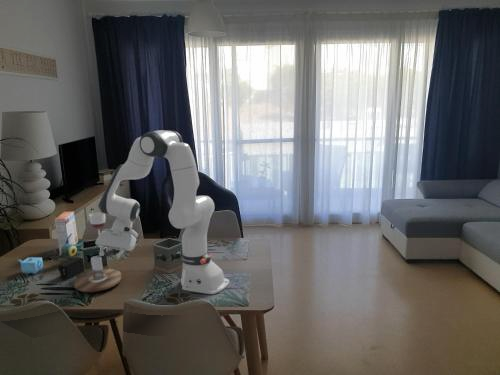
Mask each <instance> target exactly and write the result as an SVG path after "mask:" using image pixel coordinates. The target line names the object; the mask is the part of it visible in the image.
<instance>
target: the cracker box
mask: <svg viewBox="0 0 500 375" xmlns="http://www.w3.org/2000/svg"><path fill="white" fill-rule="evenodd" d="M75 218H76V216H75V211H63V212H62V213H61V214H60V215H59V216H57V217H56V218H54V225H55V230H56V232H55V233H56V239H57V244H58V245H57V246H58V251H59V254H60V253H61V249H62V247H63V246H64V245H65V244H66V240H67V238H68V237H69V235H70V234H72V235H71V236H70V237H69V239H68V242H69V244H72V245H75V244H76V243H77V242H78V241H79V239H78V233H77V225H76V219H75Z"/></svg>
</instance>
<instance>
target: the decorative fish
mask: <svg viewBox="0 0 500 375" xmlns="http://www.w3.org/2000/svg"><path fill="white" fill-rule="evenodd" d="M71 235H72V234H70V235H69V237H70V236H71ZM69 237H68V238H67V240H66V244H65V245H64V246H63V247H62V249H61V253H60V252H59V254H58V256H59V257H63V258H64V259H66V260H68V261H69V260H71V258H73V257H74V256H75V255H76V253H77V251H80V250H81V249H82V246H83V244H84V242H82V241H81V240H78V242H77V243H76V244H75V245H72V244H69V242H68V239H69Z"/></svg>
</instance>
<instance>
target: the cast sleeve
mask: <svg viewBox="0 0 500 375" xmlns="http://www.w3.org/2000/svg"><path fill="white" fill-rule="evenodd" d="M90 263H91V269H92V270H91V271H92V273H93V280H101V279H103V278H104V274H103V269H104V266H103V256H100V255H94V256H92V257H90Z"/></svg>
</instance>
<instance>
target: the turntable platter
mask: <svg viewBox="0 0 500 375" xmlns="http://www.w3.org/2000/svg"><path fill="white" fill-rule="evenodd" d="M103 274H104V278H103V279H101V280H93V273H92V270H91V271H87V272H85V273H83V274H80V275H79V276H78V277H77V278H75V280H74V283H73V284H74V286H73V287H74V289H75V290H77V291H79V292H83V293H97V292H102V291H106V290H108V289H112V288H113V287H115V286H116V285H118V284H119V283H120V282H121V281H122V277H123V276H122V273H121V271H120V270H117V269H115V268H114V269H113V268H103ZM96 291H97V292H96Z"/></svg>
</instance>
